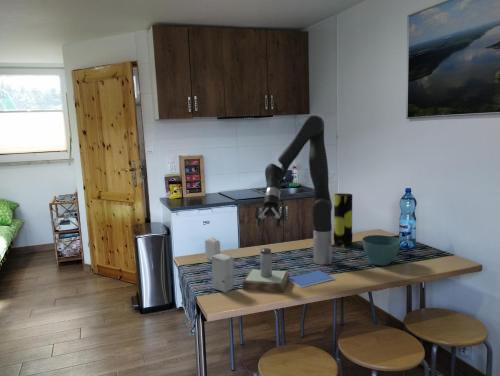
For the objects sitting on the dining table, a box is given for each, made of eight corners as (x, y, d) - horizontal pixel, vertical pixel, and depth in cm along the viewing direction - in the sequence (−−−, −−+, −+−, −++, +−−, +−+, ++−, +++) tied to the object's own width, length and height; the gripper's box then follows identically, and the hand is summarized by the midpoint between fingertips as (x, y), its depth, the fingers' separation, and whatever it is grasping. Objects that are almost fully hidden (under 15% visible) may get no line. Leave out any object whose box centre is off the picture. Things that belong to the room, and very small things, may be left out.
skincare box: (211, 288, 182) (210, 256, 179) (221, 284, 186) (219, 252, 184) (225, 292, 176) (224, 259, 174) (234, 288, 181) (233, 256, 179)
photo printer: (204, 258, 223) (203, 236, 221) (211, 256, 226) (210, 235, 224) (215, 262, 215) (214, 240, 214) (221, 261, 218) (221, 238, 216)
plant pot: (405, 262, 209) (406, 238, 207) (389, 271, 196) (390, 247, 194) (372, 255, 221) (372, 233, 219) (355, 264, 208) (355, 240, 206)
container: (355, 244, 242) (356, 194, 237) (346, 248, 234) (347, 196, 229) (339, 241, 249) (339, 192, 245) (330, 245, 241) (330, 195, 237)
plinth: (288, 278, 190) (288, 270, 190) (283, 292, 175) (283, 283, 174) (251, 276, 195) (250, 268, 194) (242, 289, 179) (242, 280, 179)
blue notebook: (300, 289, 179) (300, 286, 179) (285, 280, 190) (285, 277, 190) (335, 280, 188) (335, 278, 188) (319, 272, 199) (319, 269, 199)
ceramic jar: (272, 273, 186) (272, 248, 184) (270, 277, 181) (270, 251, 179) (262, 273, 187) (261, 247, 186) (259, 277, 182) (259, 251, 181)
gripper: (256, 194, 202) (252, 222, 193) (285, 194, 199) (282, 222, 189) (259, 202, 208) (255, 230, 198) (287, 202, 205) (284, 230, 195)
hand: (268, 226), depth 194 cm, fingers open, 8 cm apart
